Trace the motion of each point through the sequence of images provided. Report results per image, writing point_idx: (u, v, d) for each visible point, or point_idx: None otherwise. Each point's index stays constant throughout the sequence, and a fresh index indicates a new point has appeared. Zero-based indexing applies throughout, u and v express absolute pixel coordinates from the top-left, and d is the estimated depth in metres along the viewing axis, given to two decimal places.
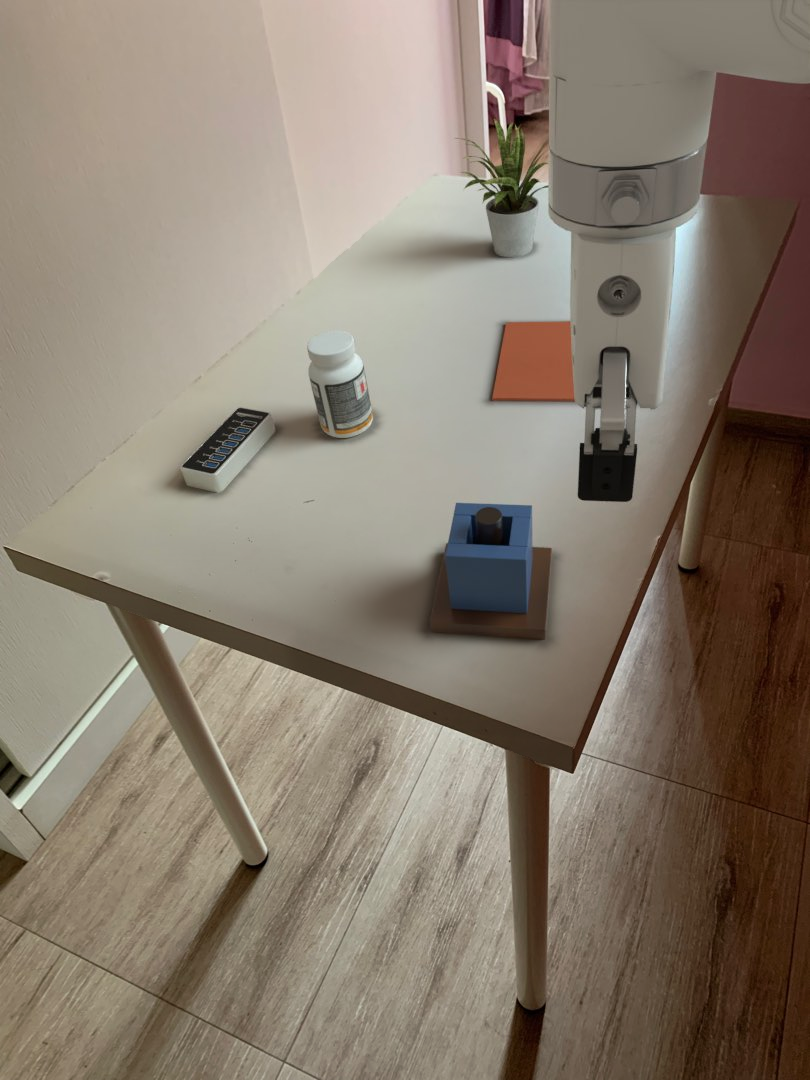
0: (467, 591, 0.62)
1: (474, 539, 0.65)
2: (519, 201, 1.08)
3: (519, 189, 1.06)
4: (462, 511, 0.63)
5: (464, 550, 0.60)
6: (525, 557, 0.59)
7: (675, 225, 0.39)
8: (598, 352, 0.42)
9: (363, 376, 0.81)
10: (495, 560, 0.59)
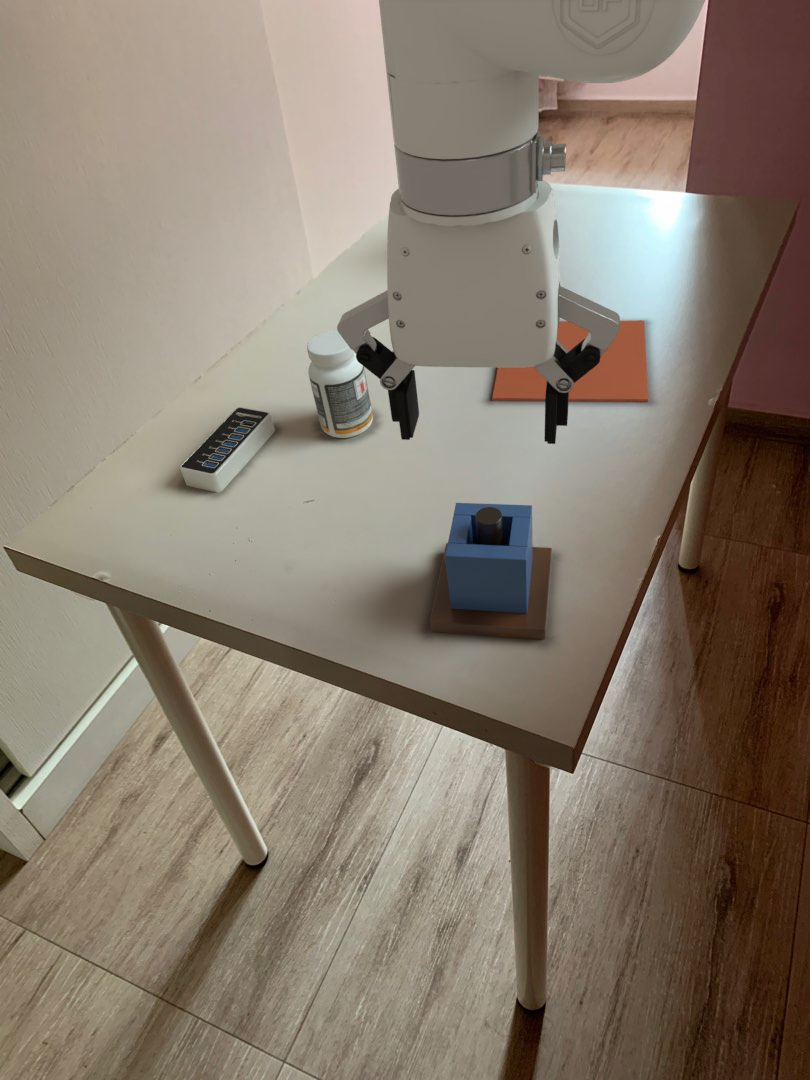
0: (467, 591, 0.62)
1: (474, 539, 0.65)
2: None
3: None
4: (462, 511, 0.63)
5: (464, 550, 0.60)
6: (525, 557, 0.59)
7: None
8: (557, 297, 0.47)
9: (363, 376, 0.81)
10: (495, 560, 0.59)
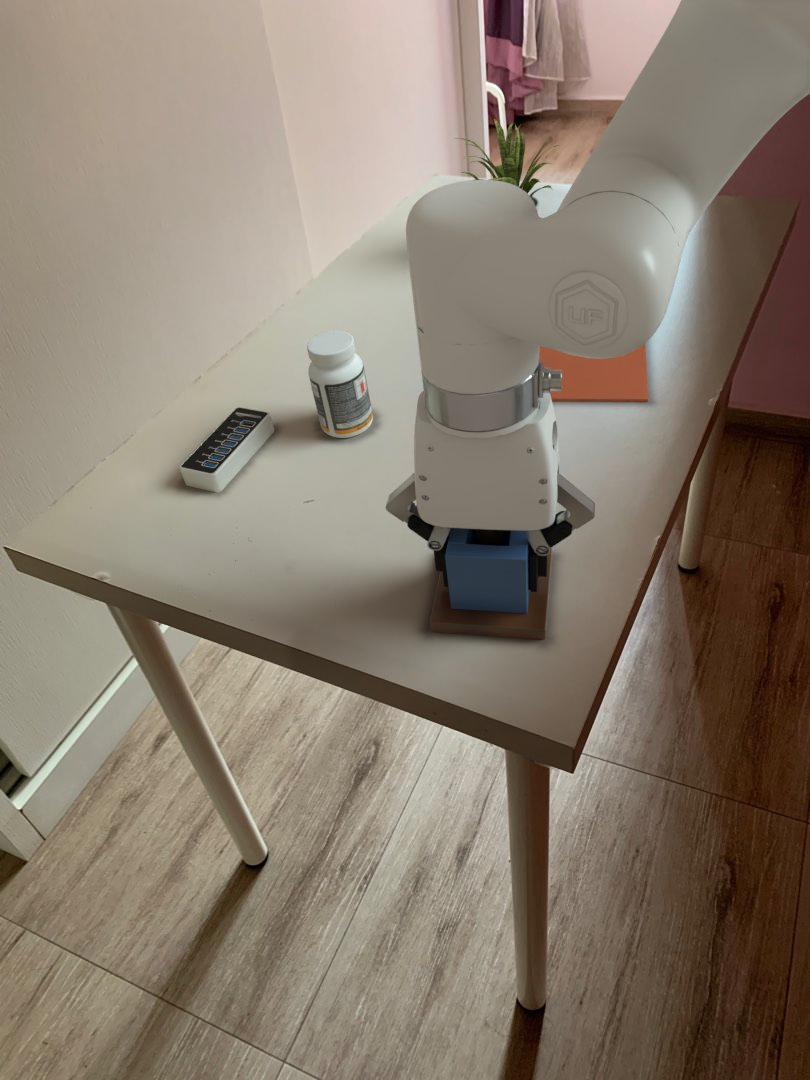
0: (467, 591, 0.62)
1: (474, 539, 0.65)
2: None
3: None
4: None
5: (464, 550, 0.60)
6: (525, 557, 0.59)
7: None
8: (556, 479, 0.56)
9: (363, 376, 0.81)
10: (495, 560, 0.59)
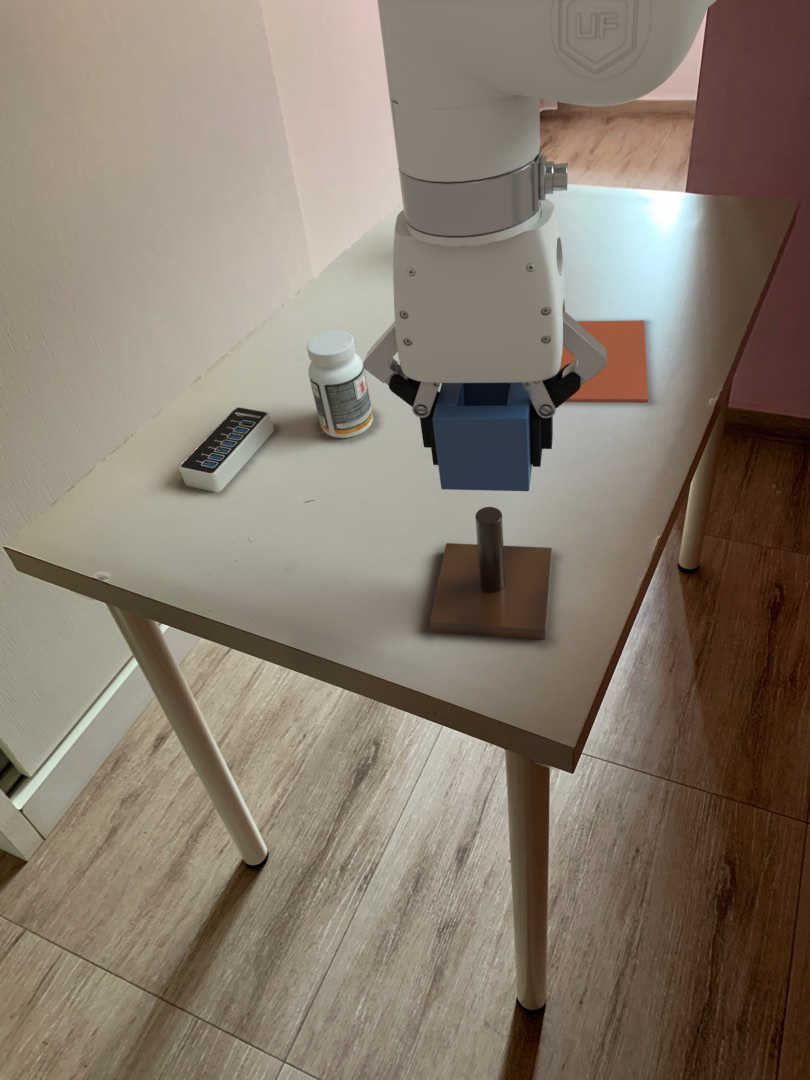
0: (459, 464, 0.54)
1: None
2: None
3: None
4: None
5: (455, 411, 0.52)
6: (526, 416, 0.50)
7: None
8: (562, 313, 0.47)
9: (363, 376, 0.81)
10: (491, 421, 0.51)
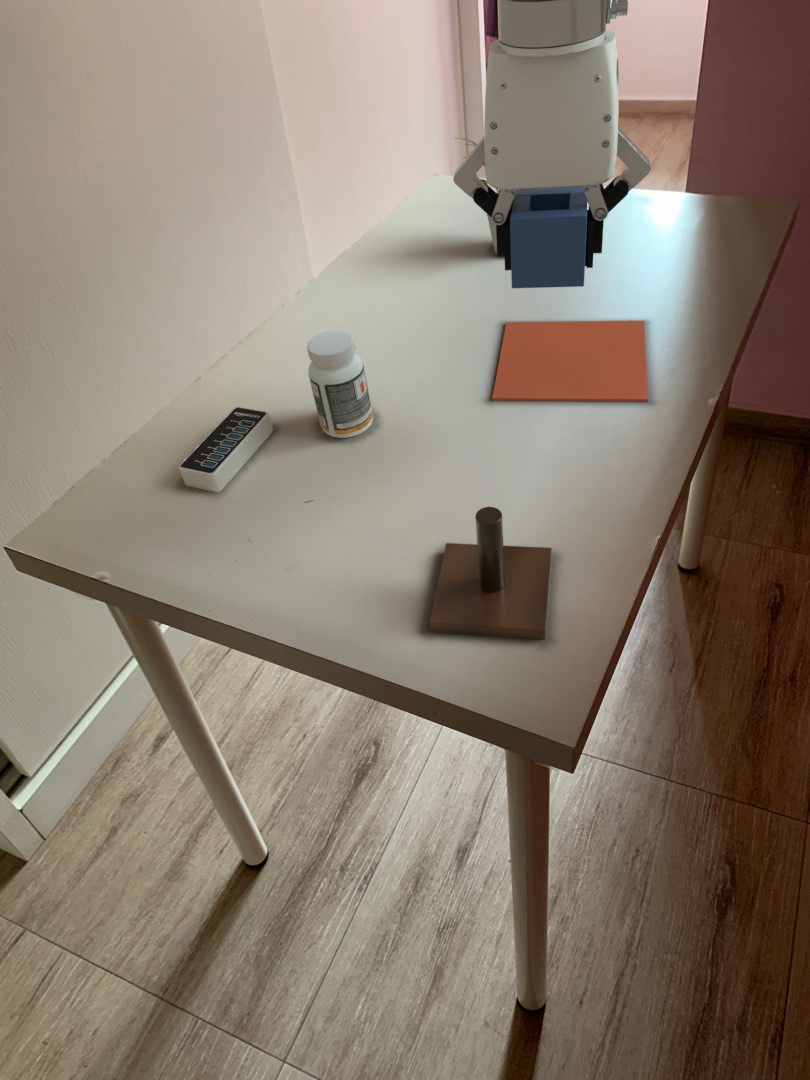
0: (528, 263, 0.67)
1: None
2: None
3: None
4: (522, 193, 0.68)
5: (527, 214, 0.65)
6: (585, 214, 0.63)
7: None
8: (617, 123, 0.60)
9: (363, 376, 0.81)
10: (557, 219, 0.64)
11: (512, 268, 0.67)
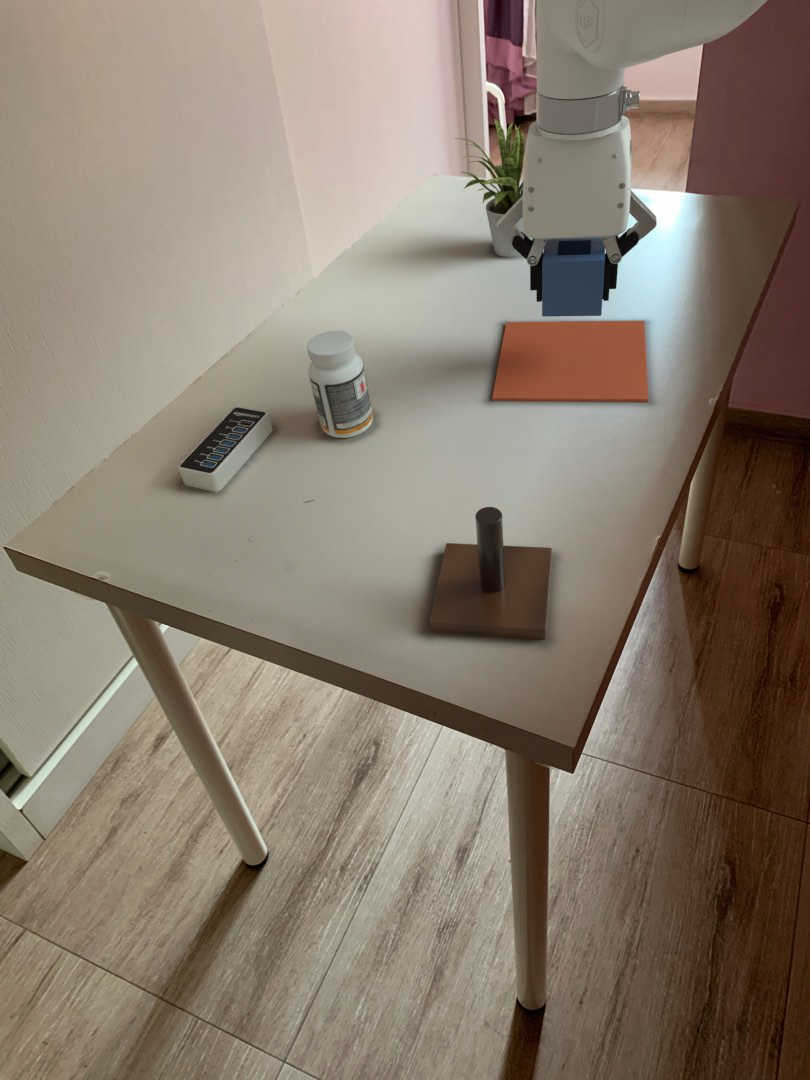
0: (556, 296, 0.82)
1: None
2: None
3: (519, 189, 1.06)
4: (551, 239, 0.83)
5: (556, 258, 0.80)
6: (603, 259, 0.79)
7: None
8: (630, 189, 0.76)
9: (363, 376, 0.81)
10: (580, 263, 0.79)
11: (543, 300, 0.83)
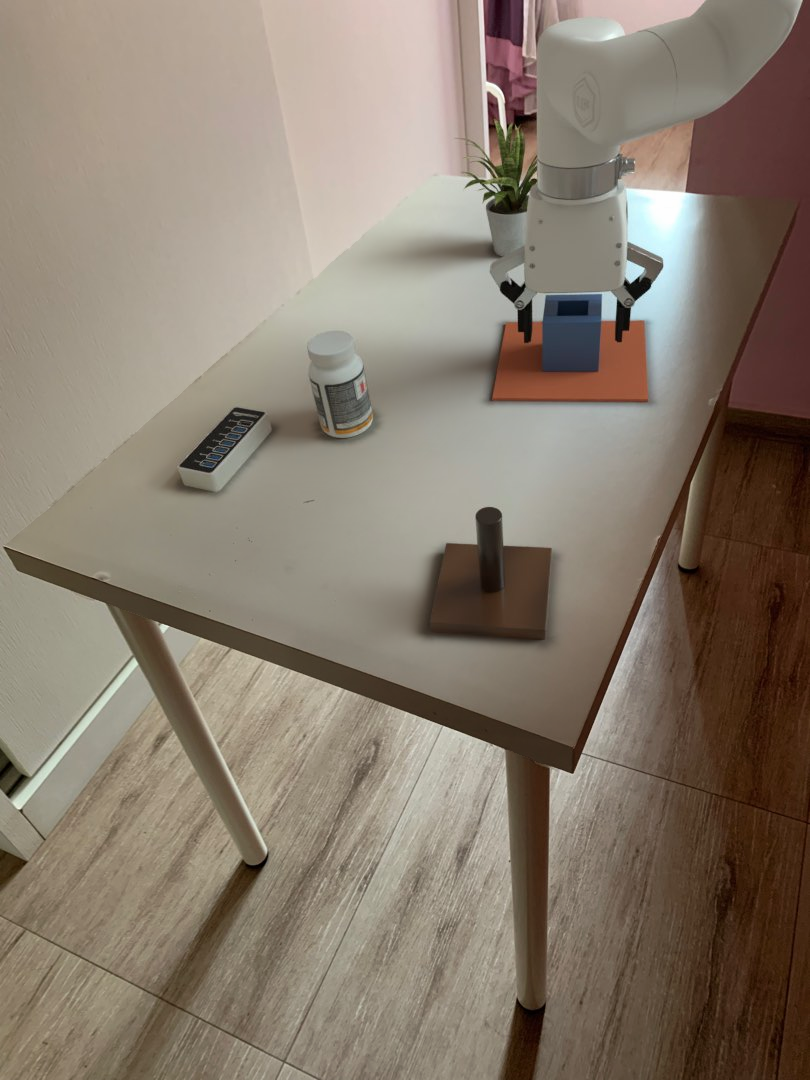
0: (556, 354, 0.87)
1: None
2: (519, 201, 1.08)
3: (519, 189, 1.06)
4: (551, 299, 0.88)
5: (556, 319, 0.84)
6: (600, 320, 0.83)
7: None
8: (627, 247, 0.79)
9: (363, 376, 0.81)
10: (578, 324, 0.84)
11: (543, 357, 0.87)
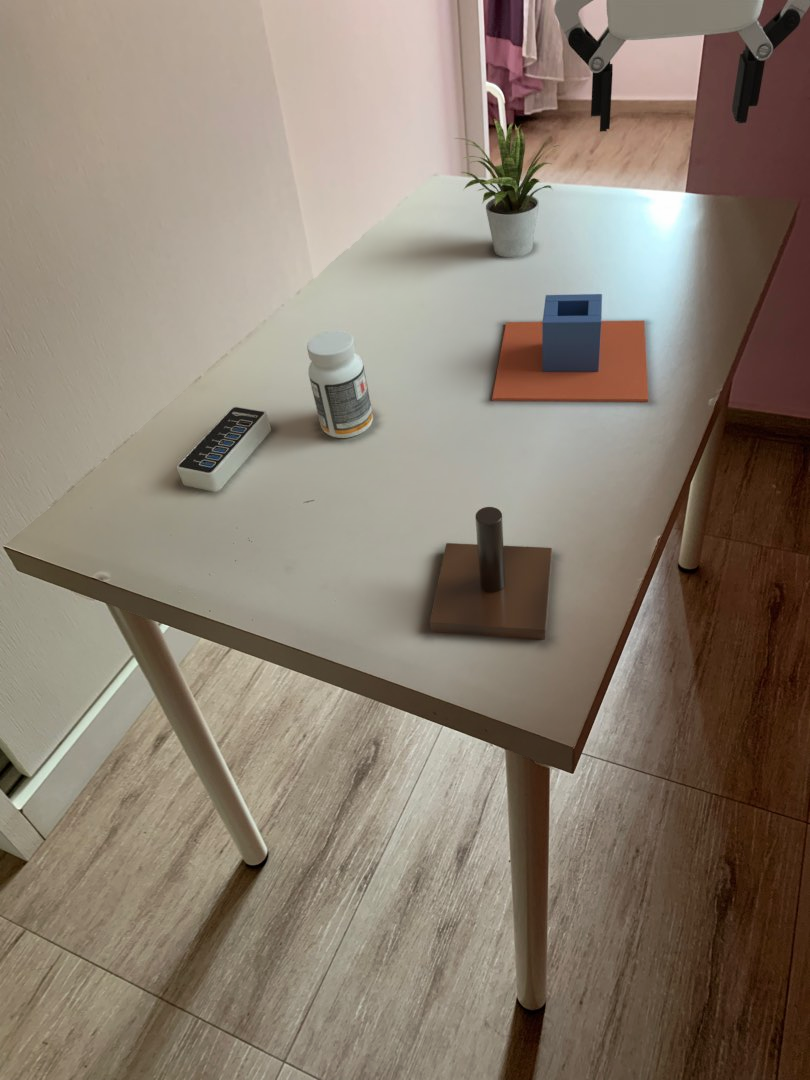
0: (556, 354, 0.87)
1: None
2: (519, 201, 1.08)
3: (519, 189, 1.06)
4: (551, 299, 0.88)
5: (556, 319, 0.84)
6: (600, 320, 0.83)
7: None
8: None
9: (363, 376, 0.81)
10: (578, 324, 0.84)
11: (543, 357, 0.87)
